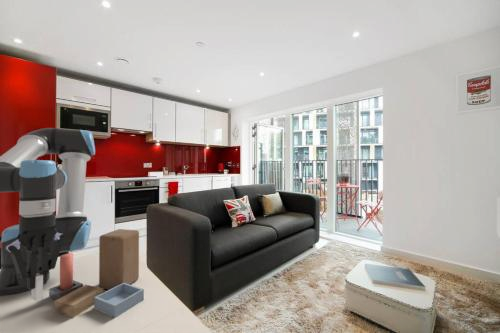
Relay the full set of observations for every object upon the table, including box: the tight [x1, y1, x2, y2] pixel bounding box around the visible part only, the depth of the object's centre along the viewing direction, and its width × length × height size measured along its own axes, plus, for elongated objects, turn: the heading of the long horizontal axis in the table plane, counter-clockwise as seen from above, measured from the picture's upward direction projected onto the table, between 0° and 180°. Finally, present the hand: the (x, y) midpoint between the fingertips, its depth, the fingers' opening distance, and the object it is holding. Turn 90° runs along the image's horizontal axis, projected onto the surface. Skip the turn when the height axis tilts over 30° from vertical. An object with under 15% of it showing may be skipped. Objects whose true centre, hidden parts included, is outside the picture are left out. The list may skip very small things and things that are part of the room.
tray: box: [93, 283, 145, 318], centre depth 75 cm, size 10×10×4 cm
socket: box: [48, 279, 84, 301], centre depth 80 cm, size 7×7×3 cm
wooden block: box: [98, 228, 140, 290], centre depth 88 cm, size 10×10×20 cm
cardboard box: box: [54, 284, 104, 318], centre depth 74 cm, size 8×10×4 cm
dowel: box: [59, 252, 74, 291], centre depth 80 cm, size 4×4×14 cm
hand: (37, 298), depth 64 cm, fingers closed
